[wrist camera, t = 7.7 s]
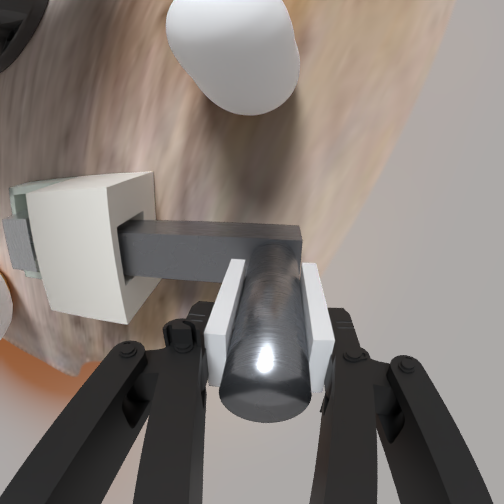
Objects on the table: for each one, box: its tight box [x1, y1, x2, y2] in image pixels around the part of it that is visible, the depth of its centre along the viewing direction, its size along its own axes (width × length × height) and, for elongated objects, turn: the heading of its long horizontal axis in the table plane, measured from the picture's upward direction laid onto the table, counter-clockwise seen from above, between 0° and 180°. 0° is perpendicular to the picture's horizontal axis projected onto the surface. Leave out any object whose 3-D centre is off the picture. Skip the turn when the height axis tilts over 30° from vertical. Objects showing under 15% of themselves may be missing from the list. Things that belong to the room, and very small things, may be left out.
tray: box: [9, 176, 78, 279], centre depth 25 cm, size 8×10×3 cm
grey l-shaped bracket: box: [117, 220, 312, 423], centre depth 16 cm, size 20×3×14 cm, turn 89°
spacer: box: [2, 209, 40, 272], centre depth 23 cm, size 5×5×4 cm
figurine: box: [166, 0, 300, 115], centre depth 14 cm, size 7×8×12 cm
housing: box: [26, 171, 162, 325], centre depth 22 cm, size 8×10×8 cm
